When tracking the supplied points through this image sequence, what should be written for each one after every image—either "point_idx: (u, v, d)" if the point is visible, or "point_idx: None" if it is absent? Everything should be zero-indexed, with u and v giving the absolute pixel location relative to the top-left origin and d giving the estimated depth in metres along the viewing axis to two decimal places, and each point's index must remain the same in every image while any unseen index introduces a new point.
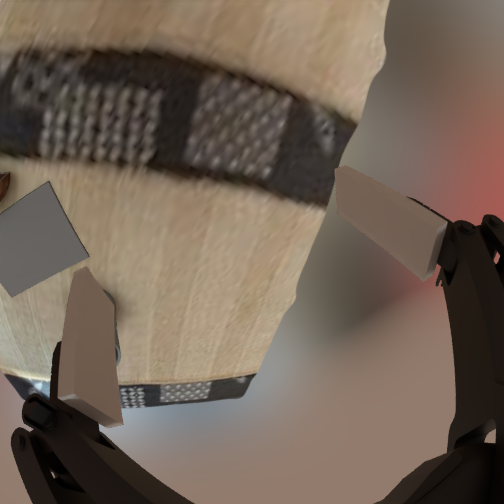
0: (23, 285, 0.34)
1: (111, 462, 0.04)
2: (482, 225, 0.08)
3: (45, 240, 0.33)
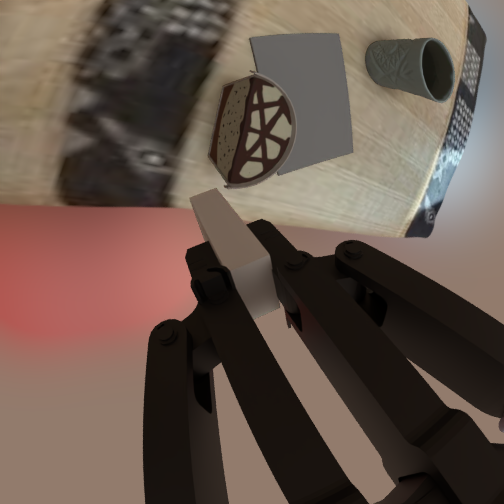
0: (346, 126, 0.37)
1: None
2: (337, 263, 0.08)
3: (311, 68, 0.30)
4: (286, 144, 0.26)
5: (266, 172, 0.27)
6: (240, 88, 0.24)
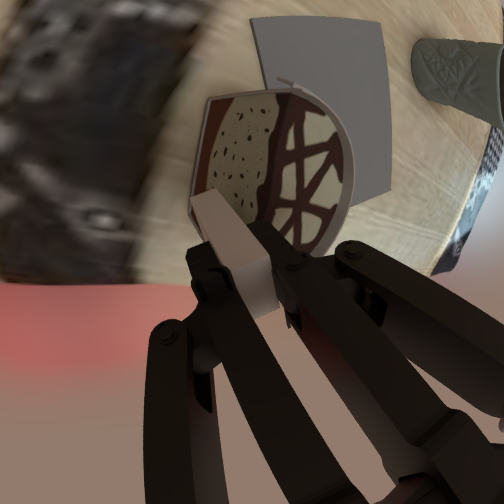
0: (386, 156, 0.26)
1: None
2: (337, 264, 0.08)
3: (344, 70, 0.19)
4: (331, 216, 0.16)
5: None
6: (251, 110, 0.13)
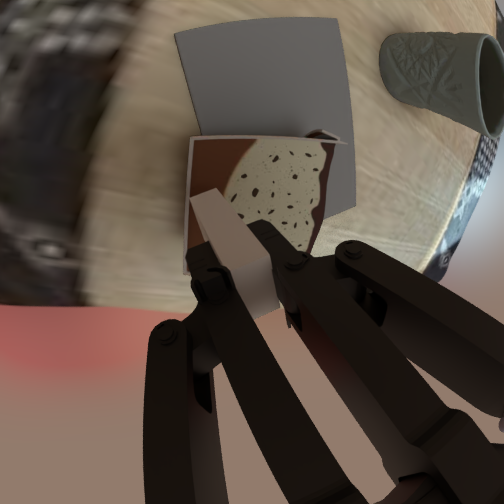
0: (348, 169, 0.25)
1: None
2: (337, 263, 0.08)
3: (289, 77, 0.18)
4: None
5: None
6: (293, 153, 0.16)
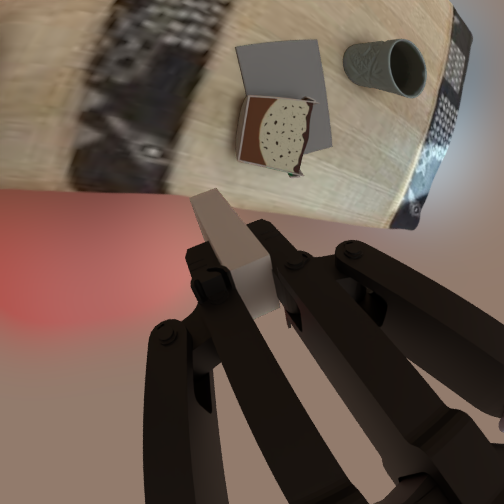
0: (325, 123, 0.42)
1: None
2: (337, 263, 0.08)
3: (291, 71, 0.35)
4: None
5: None
6: (293, 106, 0.33)
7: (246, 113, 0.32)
